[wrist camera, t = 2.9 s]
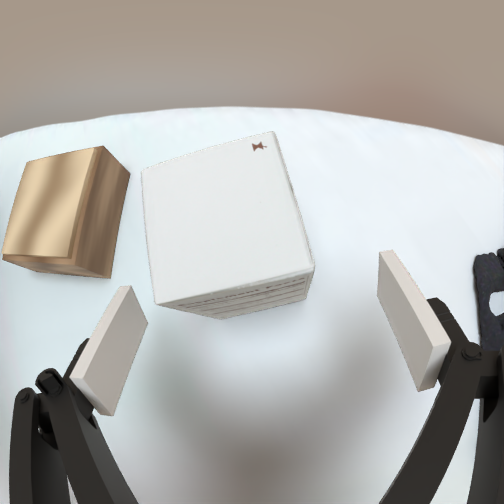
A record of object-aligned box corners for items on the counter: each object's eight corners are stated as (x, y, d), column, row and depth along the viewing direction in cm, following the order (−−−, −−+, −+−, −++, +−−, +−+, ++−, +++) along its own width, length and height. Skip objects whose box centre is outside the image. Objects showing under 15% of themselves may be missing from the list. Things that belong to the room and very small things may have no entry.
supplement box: (203, 237, 27) (137, 164, 15) (287, 217, 27) (278, 125, 15) (218, 322, 25) (149, 307, 13) (308, 302, 25) (320, 269, 12)
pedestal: (36, 271, 29) (-2, 258, 23) (57, 182, 32) (25, 159, 26) (110, 278, 27) (70, 263, 22) (130, 173, 30) (100, 142, 24)
